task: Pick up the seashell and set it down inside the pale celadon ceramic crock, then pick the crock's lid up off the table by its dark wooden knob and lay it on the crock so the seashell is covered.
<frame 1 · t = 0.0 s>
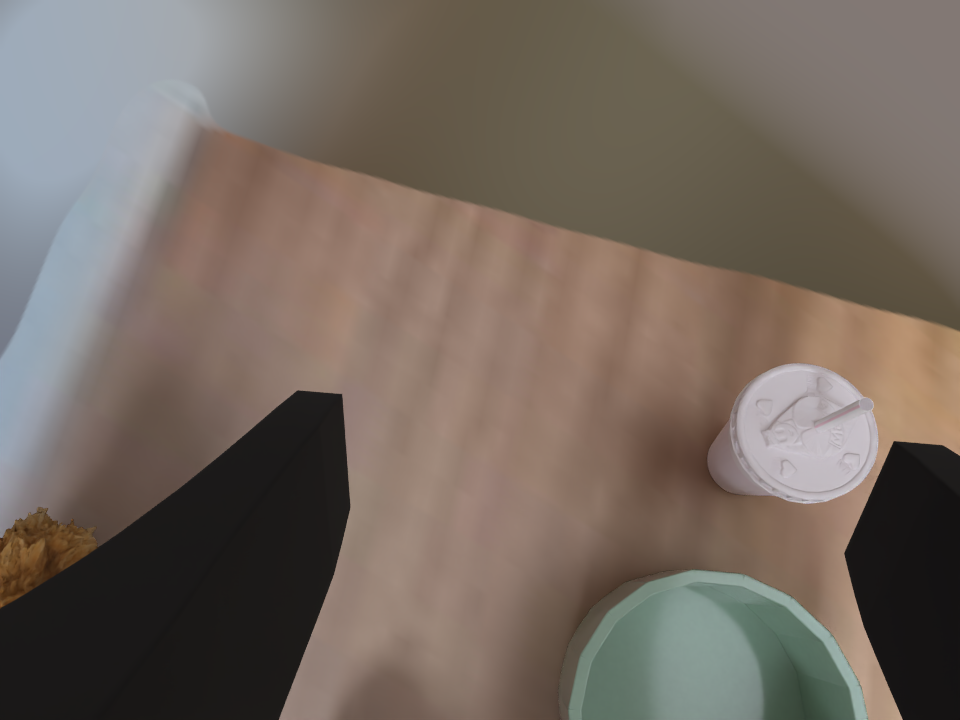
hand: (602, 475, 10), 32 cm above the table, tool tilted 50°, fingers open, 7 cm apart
crock: (683, 702, 38), on the table
smoothie: (738, 463, 42), on the table
stuffed squirrel: (111, 661, 40), on the table
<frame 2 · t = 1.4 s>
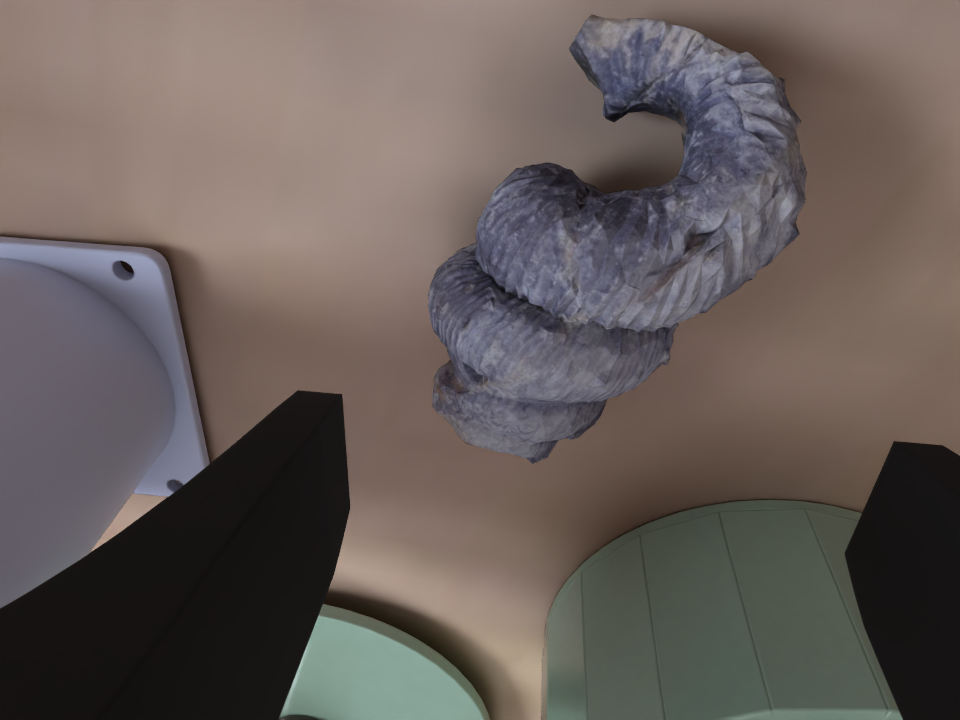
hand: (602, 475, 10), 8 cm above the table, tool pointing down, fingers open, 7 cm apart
crock: (744, 647, 24), on the table
seashell: (581, 233, 17), on the table
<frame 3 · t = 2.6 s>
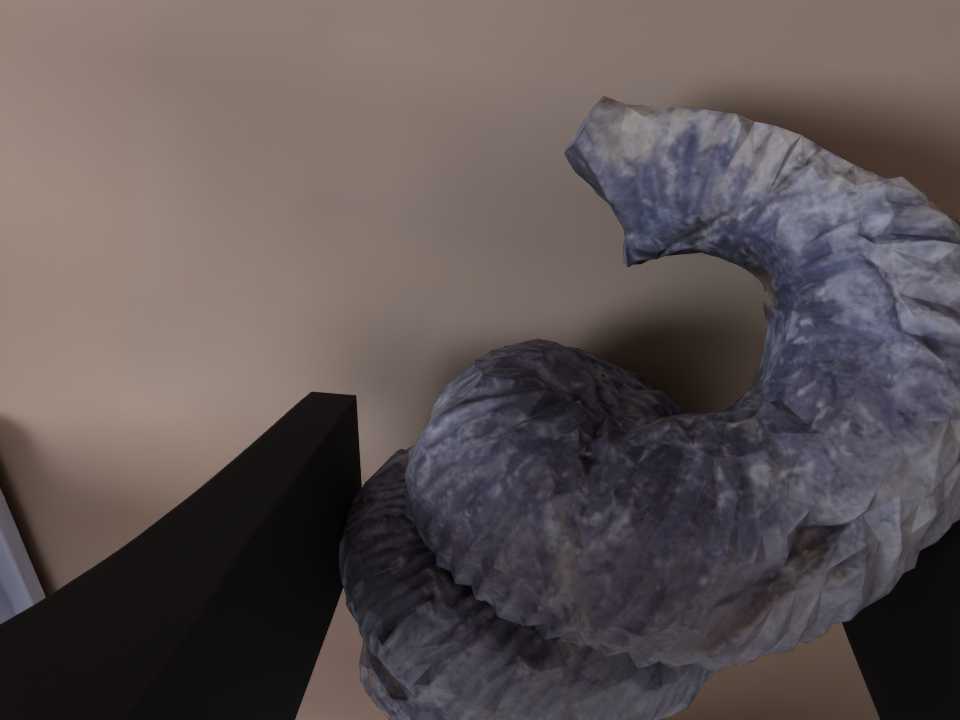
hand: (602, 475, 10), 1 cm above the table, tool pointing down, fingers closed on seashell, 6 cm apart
seashell: (588, 404, 11), on the table, touching gripper
when the fingers open (2 cm above the table, at t = 7.9 s): seashell stays where it is, resting on crock.
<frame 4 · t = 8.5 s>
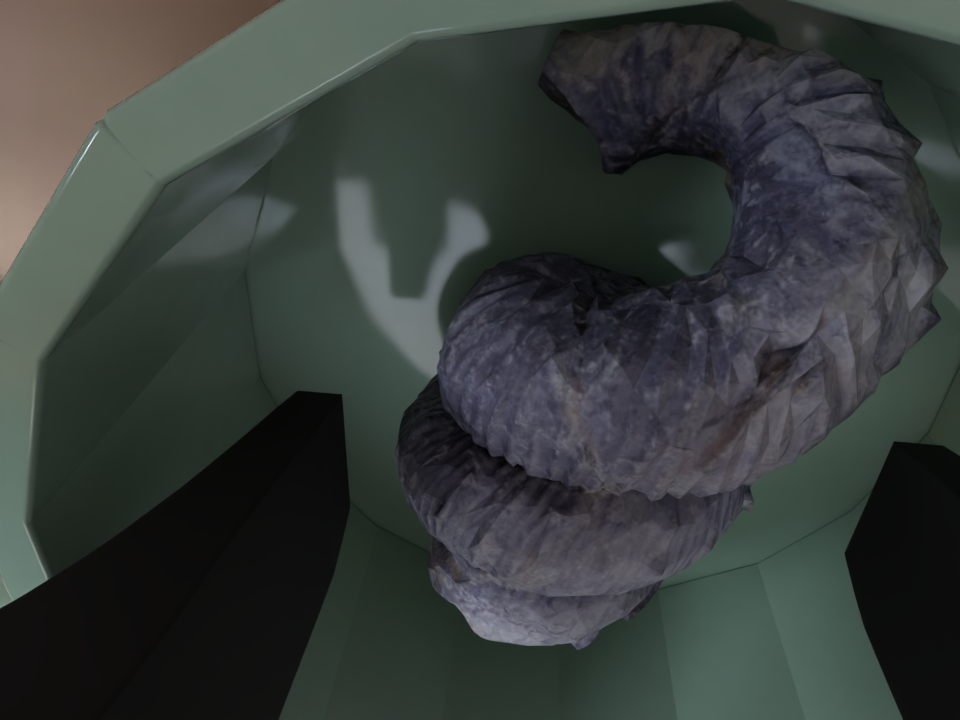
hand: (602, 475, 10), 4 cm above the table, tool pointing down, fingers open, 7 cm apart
crock: (592, 340, 13), on the table
seashell: (602, 319, 12), resting on crock
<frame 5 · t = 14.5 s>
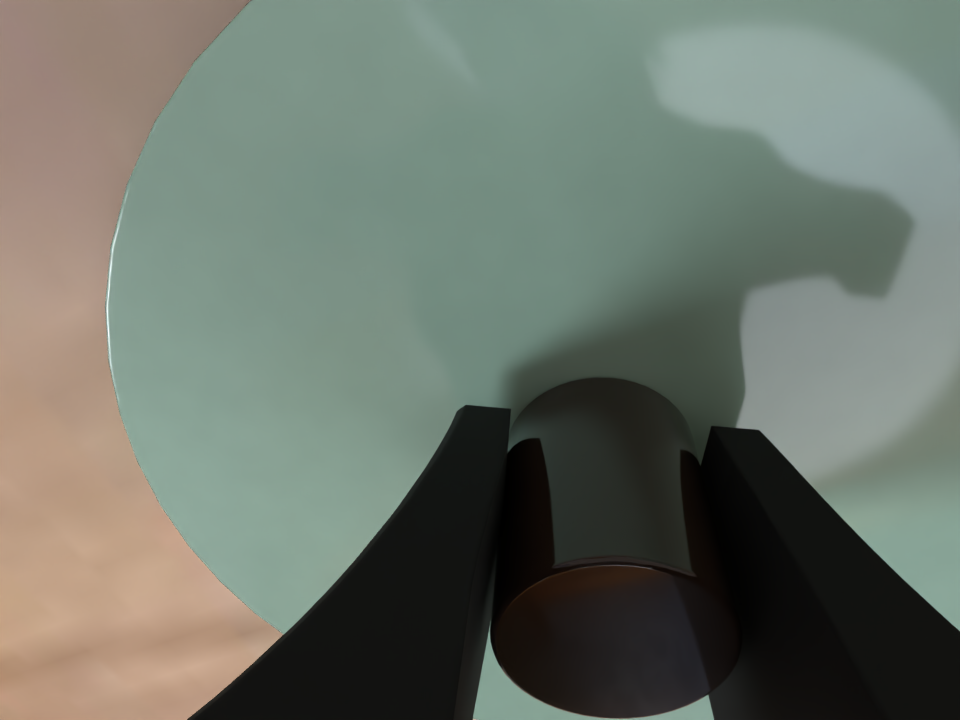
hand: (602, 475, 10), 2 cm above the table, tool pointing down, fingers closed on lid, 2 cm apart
lid: (596, 430, 11), point 1 cm above the table, touching gripper
when the fingers open (7 cm above the table, at t = 18.1 s): lid stays where it is, resting on crock.
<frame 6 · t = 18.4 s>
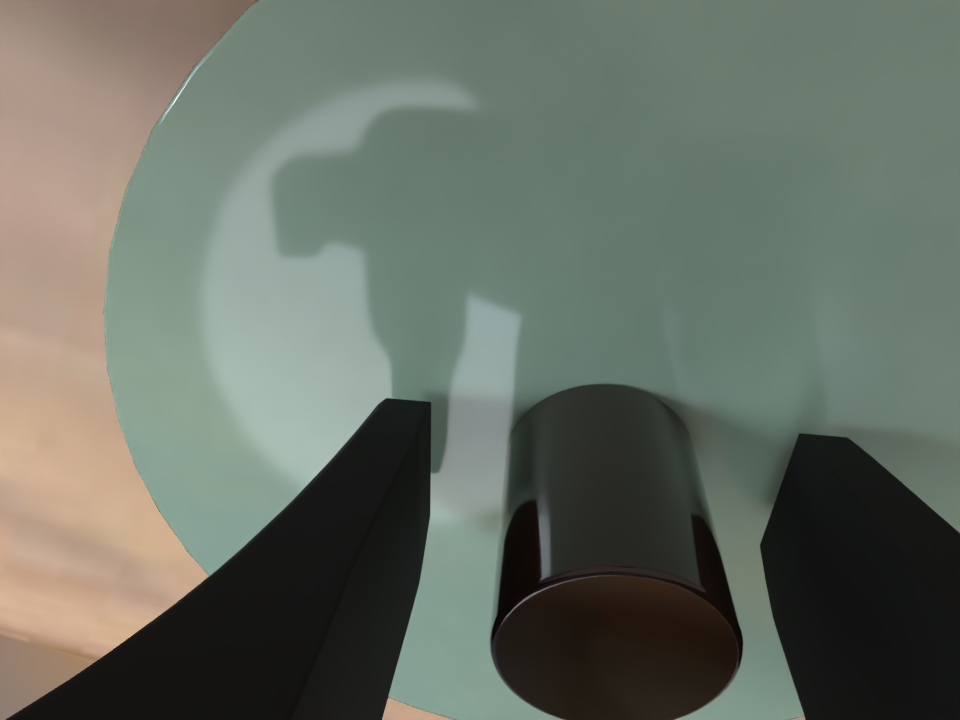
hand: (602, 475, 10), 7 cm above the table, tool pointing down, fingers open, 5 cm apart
lid: (596, 436, 11), point 6 cm above the table, touching crock
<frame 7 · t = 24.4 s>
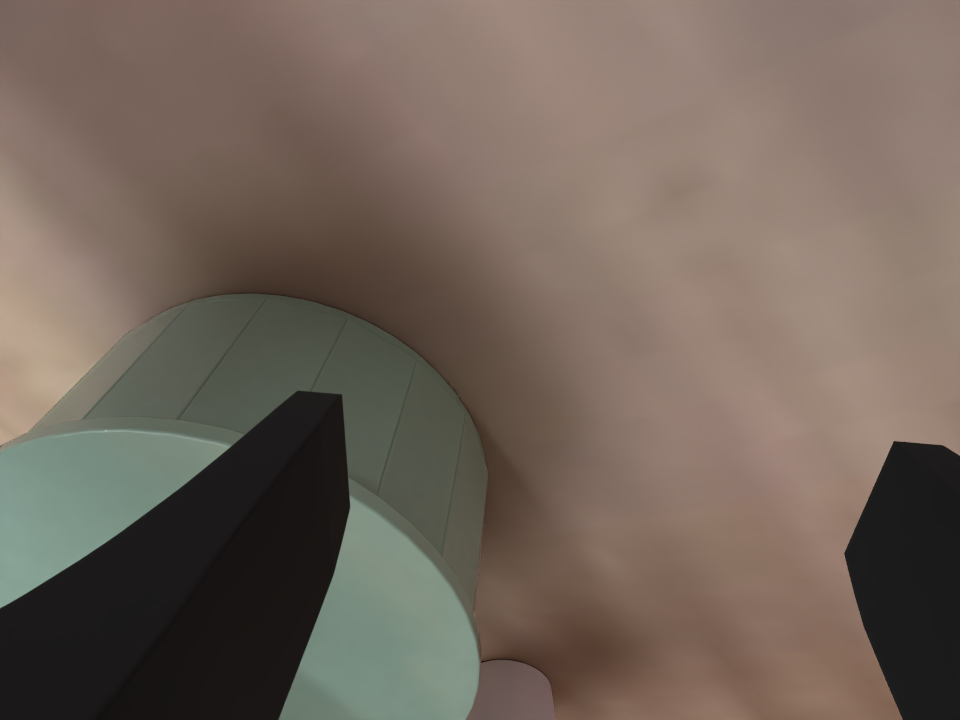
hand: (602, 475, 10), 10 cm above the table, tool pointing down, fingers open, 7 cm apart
crock: (291, 469, 24), on the table
lid: (213, 632, 19), point 6 cm above the table, touching crock
smoothie: (506, 683, 30), on the table
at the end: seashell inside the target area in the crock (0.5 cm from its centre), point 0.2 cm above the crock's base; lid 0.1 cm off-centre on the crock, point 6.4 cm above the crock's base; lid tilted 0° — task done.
